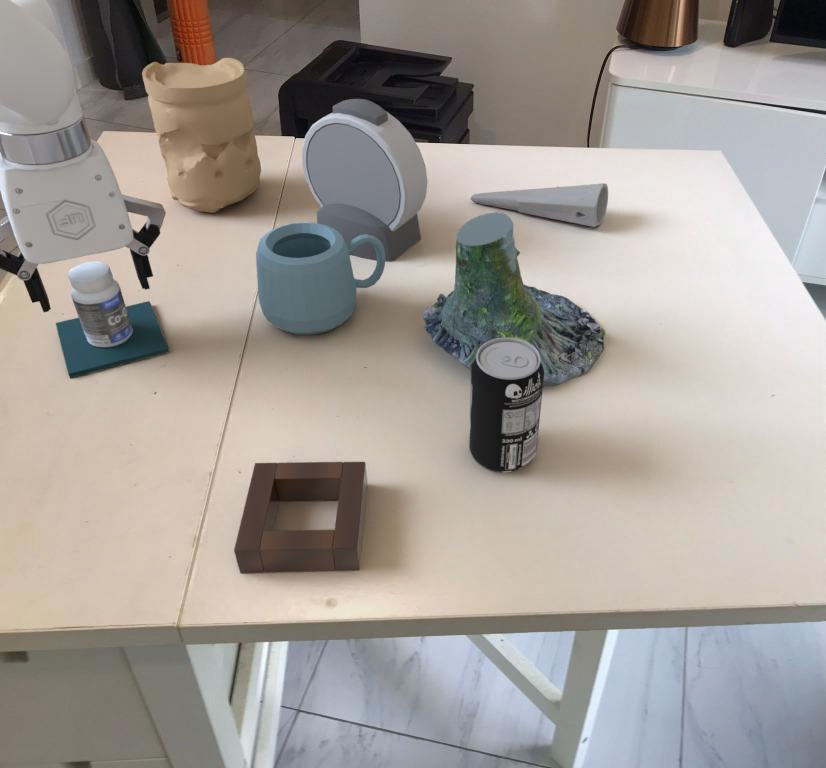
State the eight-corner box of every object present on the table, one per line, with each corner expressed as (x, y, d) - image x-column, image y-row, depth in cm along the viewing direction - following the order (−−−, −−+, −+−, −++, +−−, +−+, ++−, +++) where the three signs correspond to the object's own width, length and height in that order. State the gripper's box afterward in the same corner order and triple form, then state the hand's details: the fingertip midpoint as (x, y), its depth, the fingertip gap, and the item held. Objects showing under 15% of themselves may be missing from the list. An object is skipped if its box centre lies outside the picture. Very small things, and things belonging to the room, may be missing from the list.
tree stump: (620, 394, 87) (601, 261, 75) (440, 428, 88) (393, 303, 76) (594, 292, 100) (575, 164, 88) (438, 323, 102) (398, 202, 89)
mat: (70, 378, 84) (68, 373, 83) (57, 327, 90) (55, 322, 90) (169, 352, 88) (168, 347, 87) (150, 305, 94) (149, 300, 94)
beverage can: (478, 424, 82) (481, 329, 74) (541, 435, 81) (551, 340, 73) (461, 469, 77) (463, 373, 69) (529, 482, 76) (538, 386, 68)
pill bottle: (123, 349, 87) (102, 284, 81) (79, 347, 87) (55, 282, 81) (140, 324, 90) (120, 259, 85) (97, 322, 90) (75, 257, 85)
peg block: (239, 573, 66) (233, 550, 65) (260, 485, 74) (254, 462, 72) (359, 570, 67) (357, 547, 65) (367, 483, 75) (365, 461, 73)
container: (167, 185, 117) (136, 58, 105) (255, 172, 121) (235, 49, 110) (179, 225, 108) (147, 92, 97) (273, 210, 113) (253, 82, 101)
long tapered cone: (487, 194, 123) (608, 210, 117) (471, 217, 119) (595, 234, 113) (483, 161, 119) (608, 175, 113) (466, 183, 115) (595, 199, 109)
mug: (373, 275, 102) (368, 203, 95) (402, 322, 94) (399, 248, 88) (253, 299, 96) (239, 224, 90) (274, 351, 89) (260, 275, 82)
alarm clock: (439, 236, 110) (438, 105, 98) (398, 270, 103) (391, 133, 91) (343, 205, 115) (331, 77, 103) (296, 236, 108) (278, 102, 96)
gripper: (-64, 171, 68) (7, 334, 79) (151, 138, 75) (188, 292, 86) (-67, 137, 73) (0, 295, 84) (135, 110, 80) (173, 259, 91)
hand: (96, 293), depth 85 cm, fingers open, 9 cm apart
